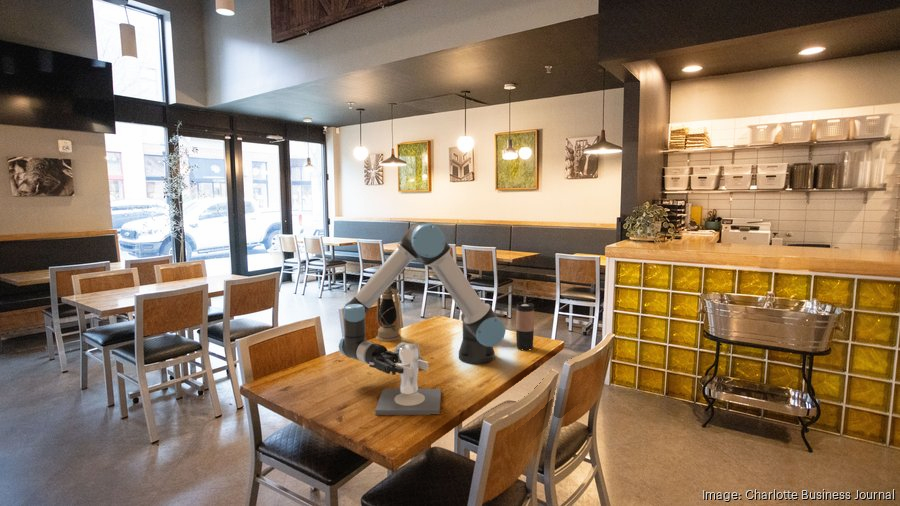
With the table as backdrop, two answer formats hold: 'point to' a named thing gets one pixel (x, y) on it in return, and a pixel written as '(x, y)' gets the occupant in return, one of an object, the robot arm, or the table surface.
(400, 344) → the ceramic mug
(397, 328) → the lantern
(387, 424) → the table surface
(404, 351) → the beer glass
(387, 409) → the charcoal board
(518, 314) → the travel mug
